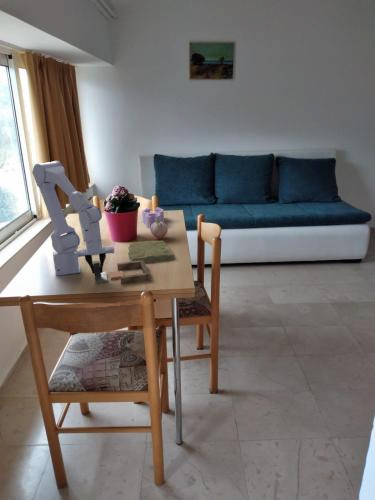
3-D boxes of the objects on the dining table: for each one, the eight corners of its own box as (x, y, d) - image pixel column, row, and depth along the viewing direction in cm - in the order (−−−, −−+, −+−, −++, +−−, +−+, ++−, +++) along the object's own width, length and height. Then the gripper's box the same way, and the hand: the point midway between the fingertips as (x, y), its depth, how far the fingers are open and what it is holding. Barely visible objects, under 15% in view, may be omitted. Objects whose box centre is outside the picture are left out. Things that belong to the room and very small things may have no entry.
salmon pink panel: (111, 281, 144) (110, 277, 143) (110, 275, 148) (109, 272, 148) (124, 279, 145) (123, 275, 145) (122, 274, 150) (122, 270, 149)
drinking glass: (96, 240, 188) (92, 212, 182) (82, 242, 185) (78, 213, 180) (94, 236, 194) (90, 208, 188) (81, 238, 191) (77, 210, 186)
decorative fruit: (170, 240, 185) (170, 221, 182) (155, 243, 182) (154, 223, 179) (163, 235, 193) (162, 216, 190) (149, 237, 190) (147, 218, 186)
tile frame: (121, 284, 140) (120, 278, 139) (117, 268, 154) (117, 263, 153) (150, 280, 143) (149, 274, 142) (144, 265, 156) (143, 260, 155)
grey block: (95, 283, 141) (93, 266, 138) (94, 274, 148) (92, 258, 146) (107, 281, 142) (105, 265, 139) (106, 273, 149) (104, 257, 147)
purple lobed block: (165, 228, 205) (164, 215, 203) (142, 229, 204) (141, 217, 202) (163, 218, 224) (163, 207, 221) (143, 219, 223) (142, 208, 220)
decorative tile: (164, 245, 180) (163, 238, 179) (173, 260, 162) (173, 253, 160) (125, 250, 175) (124, 242, 174) (130, 265, 157) (130, 258, 156)
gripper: (73, 244, 134) (78, 278, 138) (113, 240, 137) (117, 273, 142) (73, 238, 140) (78, 271, 145) (112, 234, 143) (115, 266, 148)
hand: (97, 272), depth 144 cm, fingers closed on grey block, 2 cm apart
